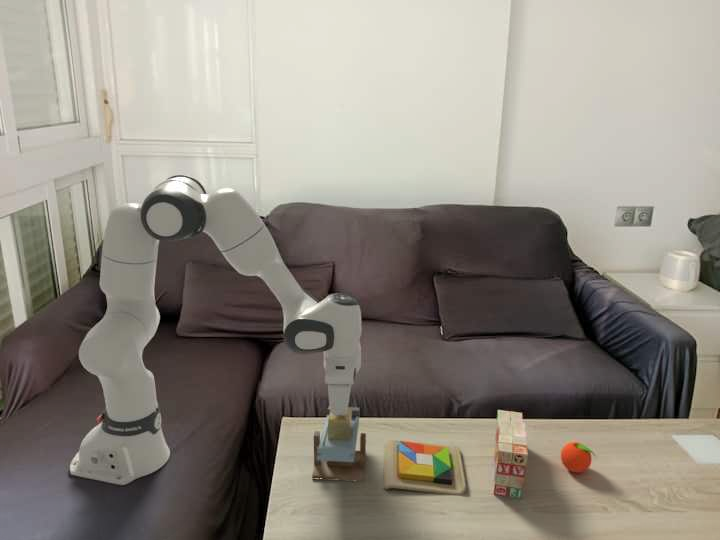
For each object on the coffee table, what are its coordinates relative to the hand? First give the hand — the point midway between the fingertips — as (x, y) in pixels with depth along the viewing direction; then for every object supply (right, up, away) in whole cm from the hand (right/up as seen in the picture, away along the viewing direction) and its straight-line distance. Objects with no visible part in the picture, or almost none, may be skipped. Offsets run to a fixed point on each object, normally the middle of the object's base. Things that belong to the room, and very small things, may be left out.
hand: (342, 410), depth 139 cm
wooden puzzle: (+20, -14, -2) cm, 24 cm away
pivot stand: (0, -13, -2) cm, 13 cm away
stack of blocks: (+40, -14, -1) cm, 42 cm away
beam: (0, -5, -5) cm, 7 cm away
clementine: (+57, -14, -2) cm, 58 cm away
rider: (0, -4, -5) cm, 7 cm away
